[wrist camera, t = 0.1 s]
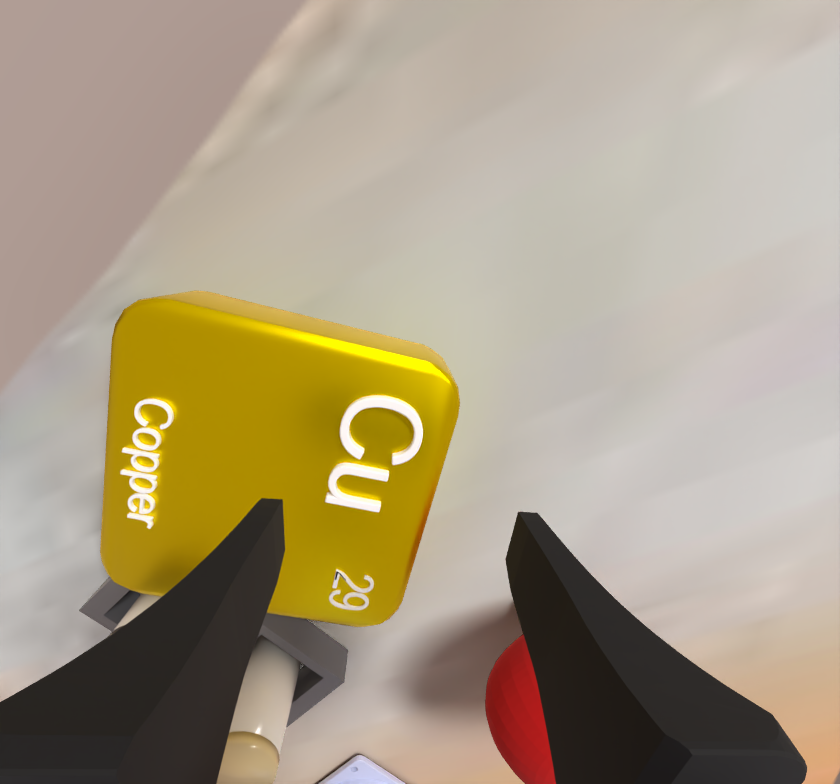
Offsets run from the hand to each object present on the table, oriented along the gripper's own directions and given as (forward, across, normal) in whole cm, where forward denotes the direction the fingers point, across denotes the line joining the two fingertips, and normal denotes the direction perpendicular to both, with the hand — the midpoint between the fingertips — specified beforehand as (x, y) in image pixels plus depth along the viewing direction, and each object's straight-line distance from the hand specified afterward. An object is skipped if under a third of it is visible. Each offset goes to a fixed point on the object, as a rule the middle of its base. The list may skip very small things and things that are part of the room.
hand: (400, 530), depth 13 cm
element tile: (+11, +6, +4) cm, 13 cm away
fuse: (+8, +7, +18) cm, 21 cm away
